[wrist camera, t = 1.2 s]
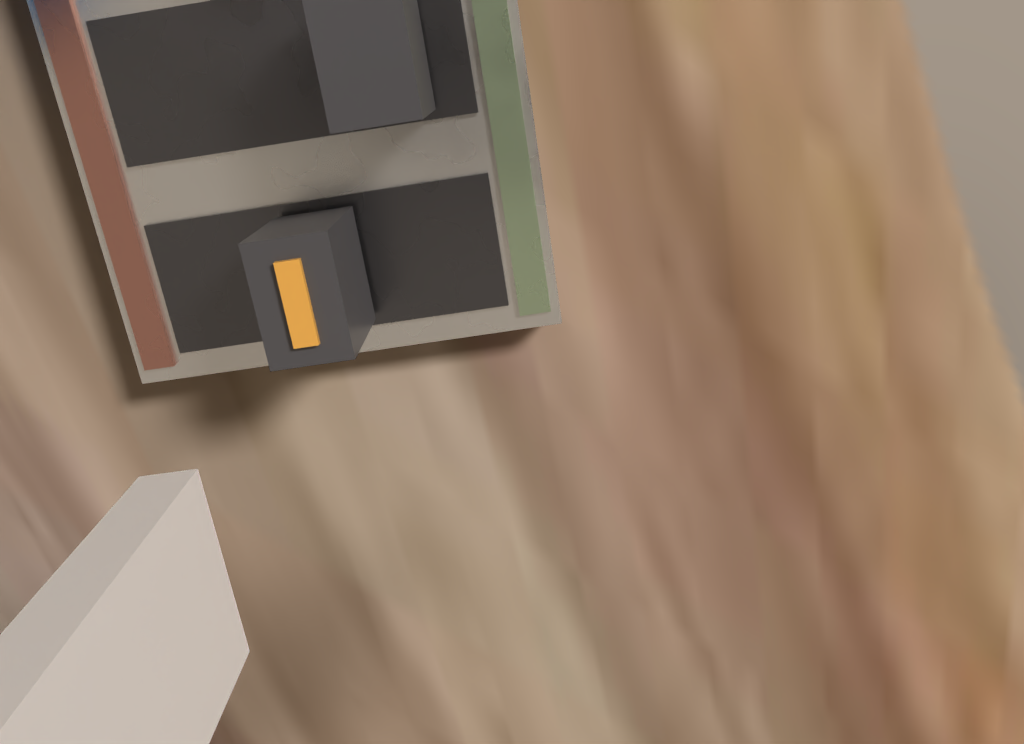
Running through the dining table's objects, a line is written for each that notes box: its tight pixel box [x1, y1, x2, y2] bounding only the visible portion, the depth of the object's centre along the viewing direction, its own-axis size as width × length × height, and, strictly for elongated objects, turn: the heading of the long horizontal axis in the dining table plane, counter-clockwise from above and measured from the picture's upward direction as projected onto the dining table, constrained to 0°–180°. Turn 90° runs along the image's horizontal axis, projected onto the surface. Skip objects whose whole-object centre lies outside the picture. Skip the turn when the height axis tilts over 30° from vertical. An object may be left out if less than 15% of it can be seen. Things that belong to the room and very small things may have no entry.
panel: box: [26, 0, 562, 384], centre depth 28 cm, size 18×14×2 cm
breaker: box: [302, 0, 436, 134], centre depth 25 cm, size 4×2×4 cm, turn 9°
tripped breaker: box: [238, 206, 376, 371], centre depth 27 cm, size 4×2×4 cm, turn 9°
